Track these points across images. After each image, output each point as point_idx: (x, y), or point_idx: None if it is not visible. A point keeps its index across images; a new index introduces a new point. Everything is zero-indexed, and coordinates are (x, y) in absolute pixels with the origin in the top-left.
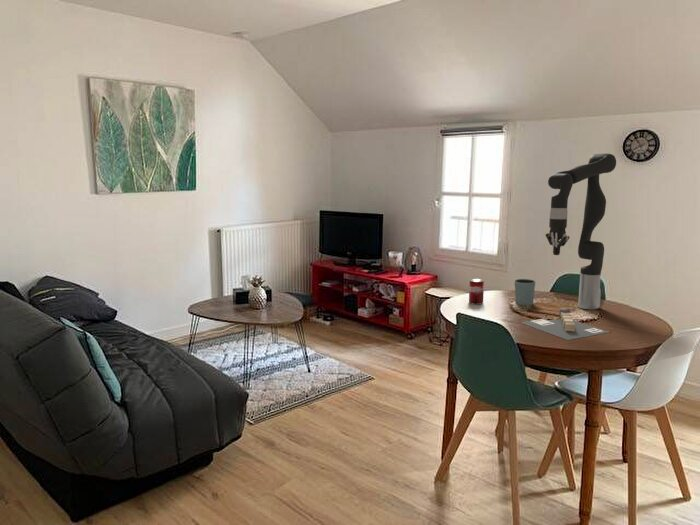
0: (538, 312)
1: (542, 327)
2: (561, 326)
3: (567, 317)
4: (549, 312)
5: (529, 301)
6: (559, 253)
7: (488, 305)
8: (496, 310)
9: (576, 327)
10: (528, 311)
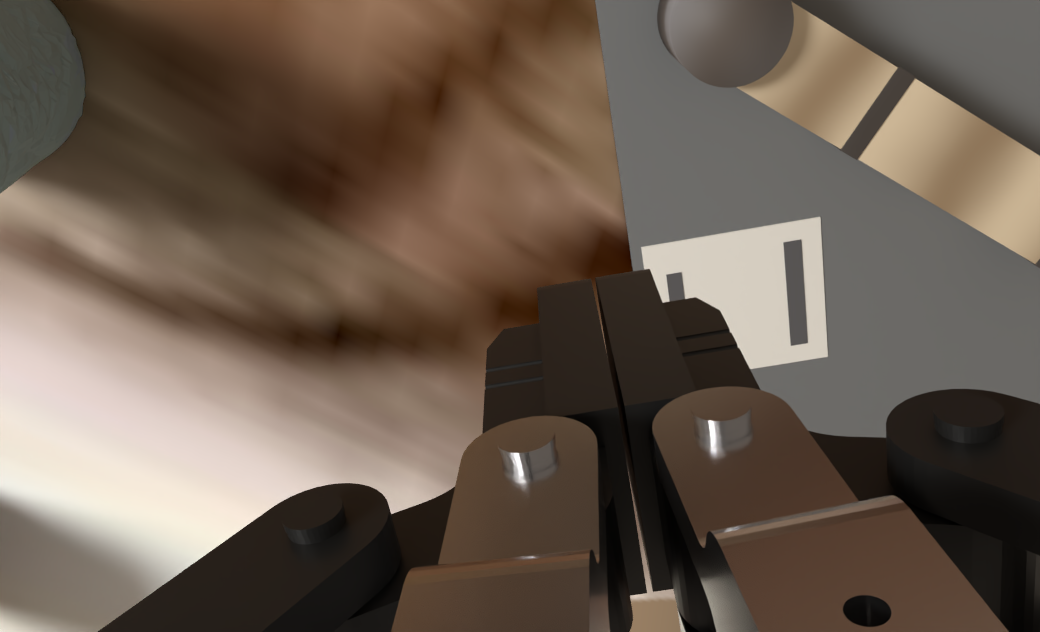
0: (391, 129)
1: (870, 389)
2: (922, 214)
3: (944, 153)
4: (420, 6)
5: (62, 69)
6: (706, 312)
7: (32, 463)
8: (231, 477)
9: (1016, 93)
10: (329, 210)
